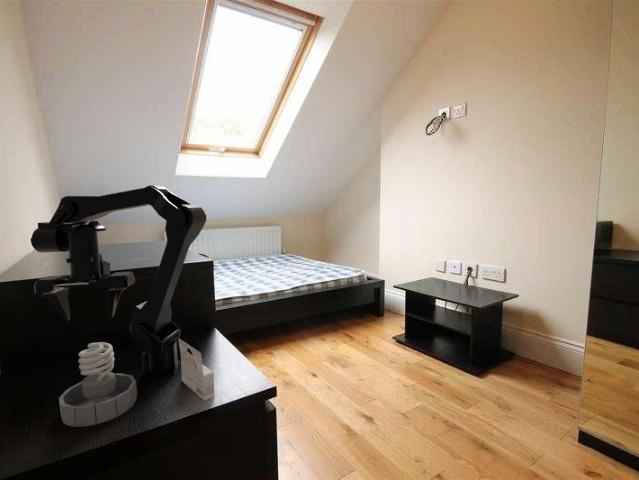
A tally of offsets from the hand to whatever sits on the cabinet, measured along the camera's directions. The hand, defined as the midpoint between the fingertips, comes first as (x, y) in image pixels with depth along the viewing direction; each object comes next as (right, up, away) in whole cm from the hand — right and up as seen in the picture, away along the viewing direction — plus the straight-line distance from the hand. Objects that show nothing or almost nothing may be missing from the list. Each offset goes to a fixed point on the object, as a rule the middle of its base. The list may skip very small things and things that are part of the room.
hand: (90, 318), depth 82 cm
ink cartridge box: (+28, -13, -9) cm, 32 cm away
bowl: (+12, -13, -15) cm, 23 cm away
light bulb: (+12, -13, -15) cm, 23 cm away
